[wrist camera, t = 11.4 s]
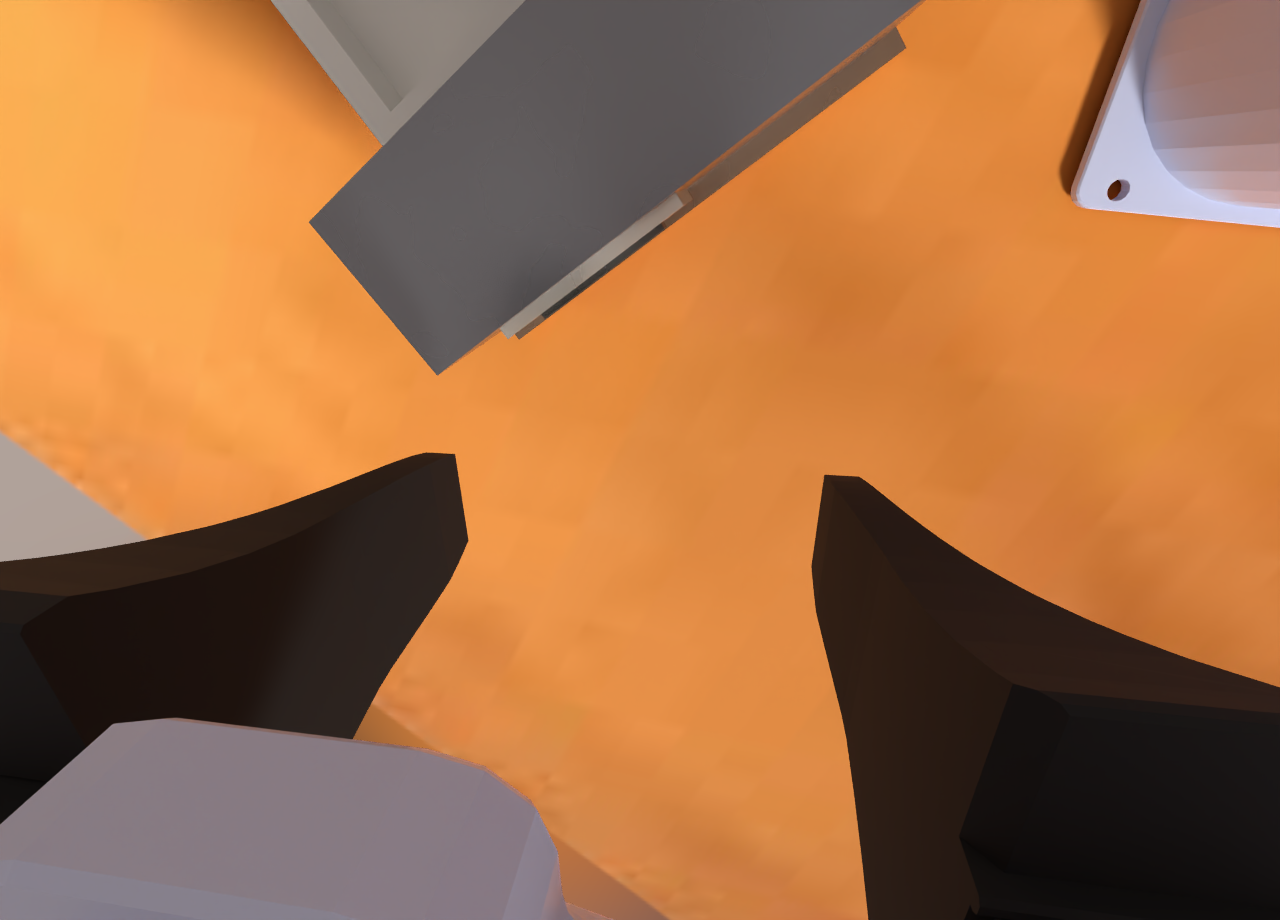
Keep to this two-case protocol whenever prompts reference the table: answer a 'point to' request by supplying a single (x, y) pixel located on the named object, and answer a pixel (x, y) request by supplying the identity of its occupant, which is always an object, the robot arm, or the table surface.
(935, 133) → the table surface
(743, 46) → the mounted housing
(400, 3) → the tray
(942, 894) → the robot arm
